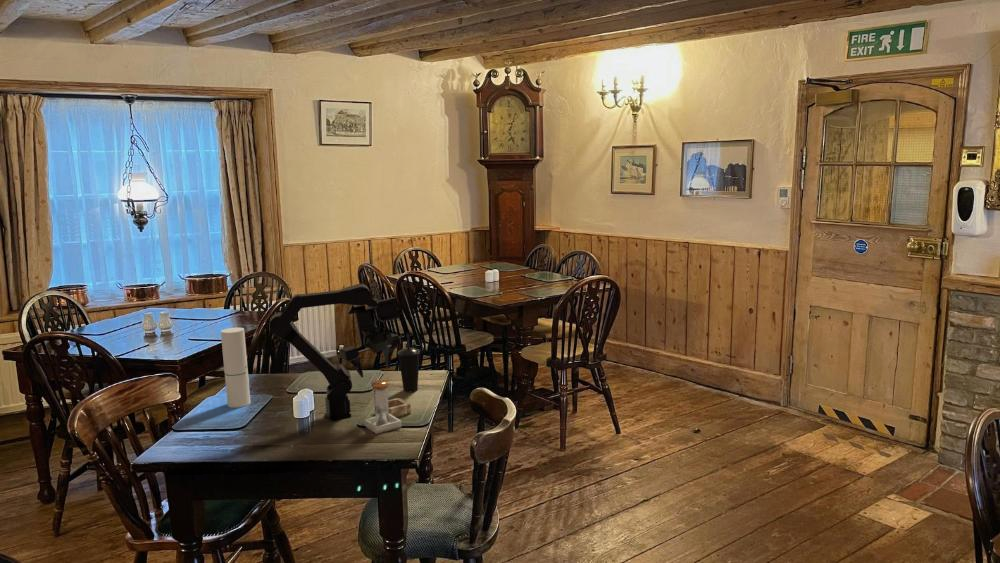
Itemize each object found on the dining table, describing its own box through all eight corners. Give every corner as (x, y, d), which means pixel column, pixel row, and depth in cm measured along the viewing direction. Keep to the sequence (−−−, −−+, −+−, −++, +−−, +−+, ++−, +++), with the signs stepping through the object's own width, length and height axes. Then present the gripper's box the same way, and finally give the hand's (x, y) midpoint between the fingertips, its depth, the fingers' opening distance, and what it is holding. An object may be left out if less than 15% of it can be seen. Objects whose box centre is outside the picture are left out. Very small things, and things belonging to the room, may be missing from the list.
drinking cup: (420, 393, 241) (417, 335, 237) (397, 393, 241) (394, 336, 237) (423, 386, 248) (420, 330, 245) (401, 386, 248) (398, 330, 245)
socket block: (388, 419, 217) (387, 409, 217) (376, 412, 224) (376, 403, 223) (410, 413, 222) (410, 404, 221) (399, 406, 228) (398, 397, 227)
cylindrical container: (254, 400, 238) (247, 327, 233) (244, 407, 231) (237, 332, 226) (233, 400, 238) (227, 327, 234) (223, 407, 231) (216, 332, 227)
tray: (376, 433, 206) (376, 427, 205) (364, 425, 212) (363, 419, 212) (401, 427, 210) (401, 420, 210) (389, 419, 217) (388, 413, 217)
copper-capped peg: (372, 427, 209) (370, 385, 207) (376, 421, 214) (373, 380, 212) (389, 427, 209) (387, 385, 206) (392, 421, 213) (390, 379, 211)
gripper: (349, 336, 207) (359, 387, 210) (405, 320, 217) (413, 368, 220) (334, 331, 216) (343, 380, 219) (388, 315, 226) (396, 362, 229)
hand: (375, 372), depth 222 cm, fingers open, 9 cm apart
